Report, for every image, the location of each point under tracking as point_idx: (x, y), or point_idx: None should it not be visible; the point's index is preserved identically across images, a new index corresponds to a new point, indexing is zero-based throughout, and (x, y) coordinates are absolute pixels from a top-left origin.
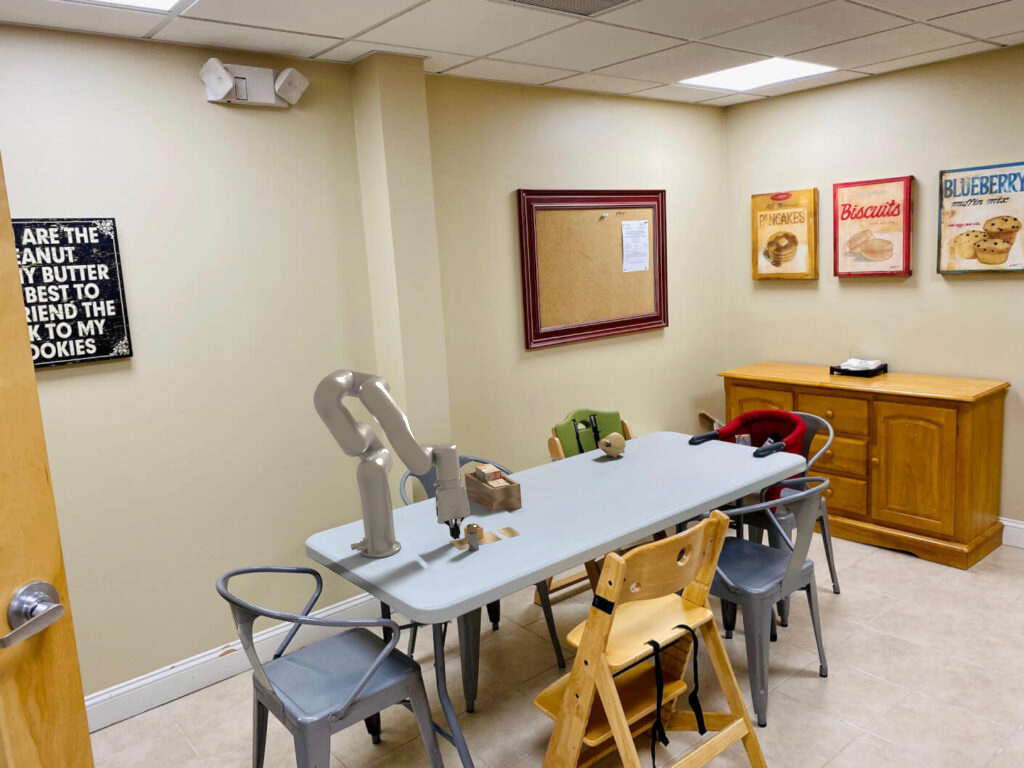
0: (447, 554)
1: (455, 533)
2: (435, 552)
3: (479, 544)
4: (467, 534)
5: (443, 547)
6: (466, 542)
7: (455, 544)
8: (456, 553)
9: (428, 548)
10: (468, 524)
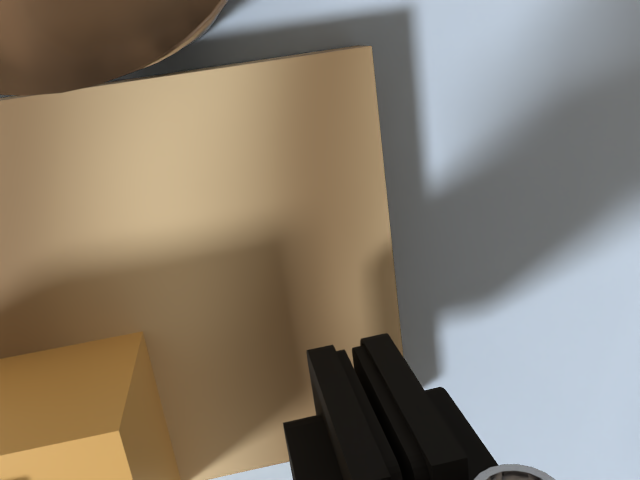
0: (512, 114)
1: (399, 386)
2: (611, 251)
3: (2, 134)
4: (147, 438)
5: (480, 362)
6: (197, 308)
7: (364, 300)
8: (396, 90)
9: (631, 398)
10: (134, 63)
